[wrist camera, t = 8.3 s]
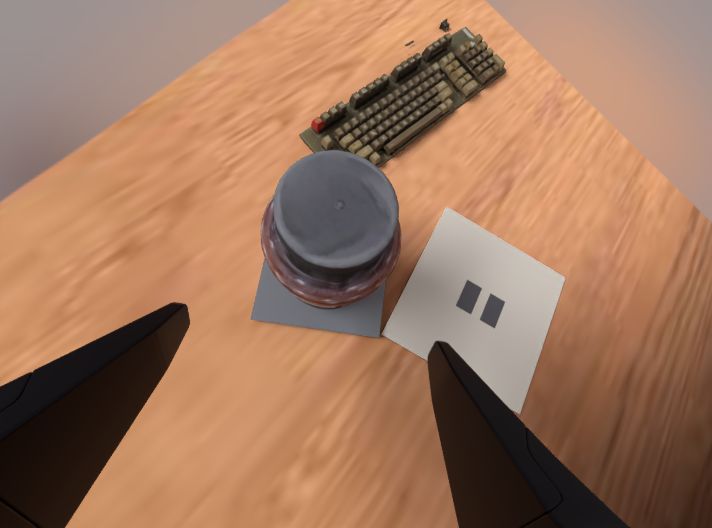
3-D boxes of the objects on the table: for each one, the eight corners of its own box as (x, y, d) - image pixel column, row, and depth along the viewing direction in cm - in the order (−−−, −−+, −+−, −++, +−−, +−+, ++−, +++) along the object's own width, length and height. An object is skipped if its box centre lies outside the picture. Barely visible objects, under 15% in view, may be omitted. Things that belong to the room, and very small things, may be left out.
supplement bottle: (320, 215, 20) (326, 86, 9) (382, 263, 20) (465, 195, 9) (267, 275, 18) (192, 212, 7) (333, 327, 18) (359, 343, 7)
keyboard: (349, 200, 22) (352, 188, 20) (281, 123, 22) (278, 104, 20) (506, 80, 27) (521, 62, 25) (448, 20, 27) (458, -3, 25)
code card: (518, 413, 19) (520, 414, 19) (381, 334, 19) (381, 334, 19) (564, 277, 22) (565, 277, 22) (445, 207, 22) (446, 206, 22)
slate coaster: (377, 337, 19) (379, 337, 18) (252, 319, 18) (250, 319, 18) (391, 224, 21) (393, 221, 20) (279, 202, 20) (278, 199, 20)
